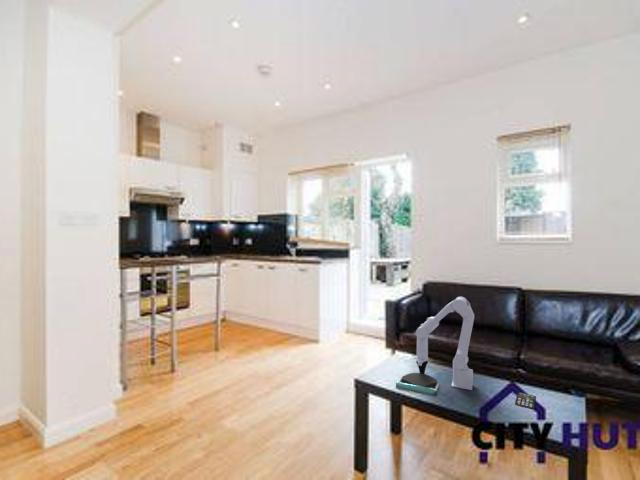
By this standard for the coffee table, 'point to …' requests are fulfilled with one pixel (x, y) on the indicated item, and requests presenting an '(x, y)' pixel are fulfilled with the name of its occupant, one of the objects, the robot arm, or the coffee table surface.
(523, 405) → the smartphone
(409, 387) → the teal tray
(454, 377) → the robot arm
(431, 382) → the media streaming box
